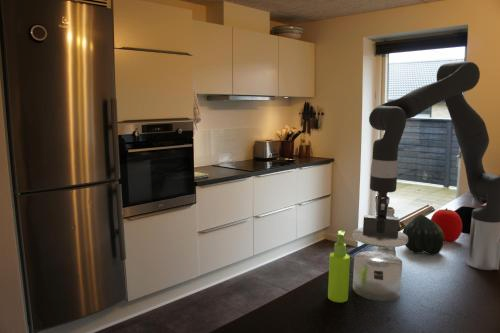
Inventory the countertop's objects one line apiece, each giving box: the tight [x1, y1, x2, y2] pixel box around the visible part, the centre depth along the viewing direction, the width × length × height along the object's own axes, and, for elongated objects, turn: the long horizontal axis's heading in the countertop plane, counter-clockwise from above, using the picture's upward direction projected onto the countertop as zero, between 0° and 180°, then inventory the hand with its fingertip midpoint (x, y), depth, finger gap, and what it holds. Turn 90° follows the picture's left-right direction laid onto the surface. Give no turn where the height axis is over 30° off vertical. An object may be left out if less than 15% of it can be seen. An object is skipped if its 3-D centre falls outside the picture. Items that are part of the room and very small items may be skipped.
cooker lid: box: [352, 214, 408, 248], centre depth 125 cm, size 16×16×6 cm
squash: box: [402, 213, 445, 256], centre depth 162 cm, size 14×15×15 cm
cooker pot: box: [352, 250, 403, 302], centre depth 127 cm, size 14×21×10 cm
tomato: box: [430, 207, 463, 243], centre depth 174 cm, size 13×11×14 cm
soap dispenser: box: [327, 229, 351, 303], centre depth 122 cm, size 6×7×20 cm
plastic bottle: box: [376, 206, 397, 257], centre depth 150 cm, size 6×7×20 cm
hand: (380, 230), depth 125 cm, fingers closed on cooker lid, 3 cm apart
